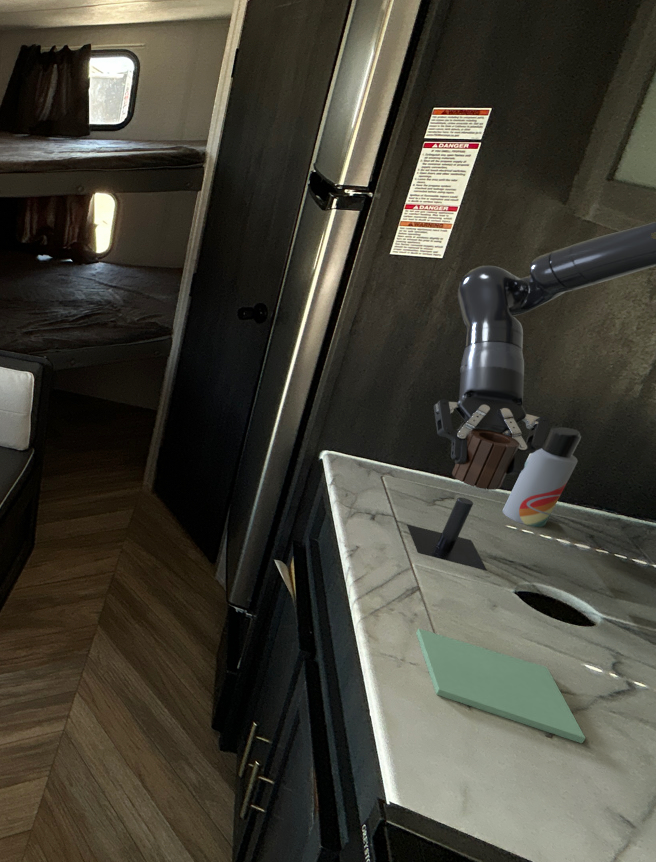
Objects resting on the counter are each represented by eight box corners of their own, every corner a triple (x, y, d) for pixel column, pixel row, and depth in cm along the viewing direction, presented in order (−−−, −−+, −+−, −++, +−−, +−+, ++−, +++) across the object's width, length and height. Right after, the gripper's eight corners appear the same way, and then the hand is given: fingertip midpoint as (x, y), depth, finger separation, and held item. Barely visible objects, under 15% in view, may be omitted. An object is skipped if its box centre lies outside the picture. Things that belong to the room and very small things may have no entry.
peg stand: (467, 546, 111) (492, 494, 107) (483, 577, 104) (510, 523, 100) (403, 530, 115) (424, 480, 111) (414, 559, 108) (437, 506, 104)
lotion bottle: (547, 536, 114) (597, 440, 106) (505, 527, 116) (551, 432, 109) (535, 520, 118) (582, 426, 111) (495, 511, 121) (538, 419, 113)
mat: (544, 672, 87) (547, 667, 87) (582, 743, 77) (586, 738, 77) (415, 633, 93) (418, 628, 93) (436, 694, 84) (438, 689, 83)
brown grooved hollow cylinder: (493, 476, 105) (512, 434, 102) (505, 493, 100) (525, 450, 97) (448, 466, 107) (465, 425, 104) (457, 483, 103) (475, 441, 100)
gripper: (446, 357, 106) (438, 450, 101) (563, 374, 100) (562, 474, 95) (427, 375, 113) (420, 463, 108) (537, 391, 106) (534, 486, 101)
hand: (486, 467), depth 101 cm, fingers closed on brown grooved hollow cylinder, 5 cm apart
